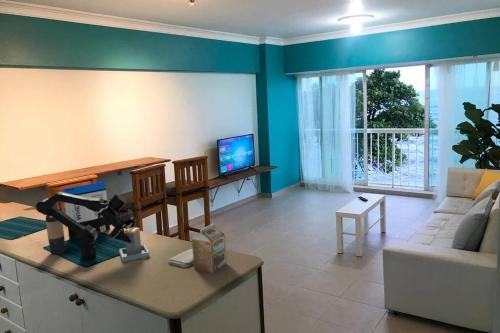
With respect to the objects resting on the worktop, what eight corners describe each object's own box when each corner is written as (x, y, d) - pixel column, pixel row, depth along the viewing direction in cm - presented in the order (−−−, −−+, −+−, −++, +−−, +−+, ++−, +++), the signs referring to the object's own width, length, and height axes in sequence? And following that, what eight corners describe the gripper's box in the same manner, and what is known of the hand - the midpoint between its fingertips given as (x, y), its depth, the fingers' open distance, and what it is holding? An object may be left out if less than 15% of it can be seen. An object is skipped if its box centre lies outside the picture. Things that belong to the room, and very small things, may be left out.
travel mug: (69, 250, 218) (64, 213, 215) (57, 255, 211) (52, 218, 208) (59, 249, 221) (54, 212, 218) (47, 254, 214) (41, 217, 211)
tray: (123, 262, 198) (122, 257, 197) (119, 253, 209) (119, 249, 209) (149, 257, 203) (149, 252, 202) (145, 249, 214) (144, 244, 214)
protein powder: (113, 230, 248) (108, 182, 243) (72, 241, 232) (65, 189, 227) (107, 227, 255) (101, 180, 250) (66, 238, 239) (59, 187, 234)
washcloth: (166, 264, 193) (166, 258, 193) (191, 252, 208) (191, 246, 208) (186, 269, 187) (185, 263, 187) (210, 255, 202) (210, 249, 201)
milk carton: (212, 272, 181) (210, 231, 178) (194, 268, 186) (191, 228, 183) (226, 264, 190) (224, 224, 187) (208, 260, 195) (205, 221, 192)
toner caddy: (126, 256, 203) (124, 230, 201) (132, 252, 209) (129, 226, 207) (136, 256, 202) (133, 230, 200) (141, 252, 208) (139, 226, 206)
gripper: (112, 211, 193) (136, 234, 193) (131, 201, 212) (153, 222, 211) (99, 227, 196) (122, 250, 196) (118, 216, 214) (140, 237, 214)
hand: (135, 239), depth 204 cm, fingers open, 9 cm apart
